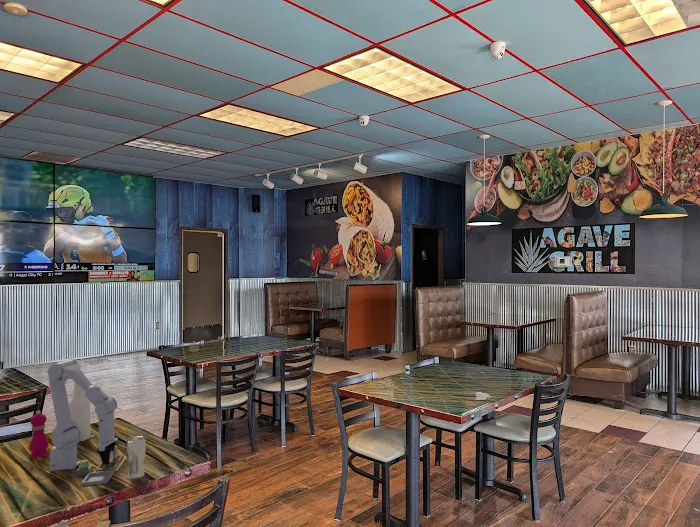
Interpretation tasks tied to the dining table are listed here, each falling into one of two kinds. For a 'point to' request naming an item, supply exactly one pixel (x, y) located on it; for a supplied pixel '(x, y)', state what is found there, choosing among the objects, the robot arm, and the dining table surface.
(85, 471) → the switch box
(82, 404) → the alcohol
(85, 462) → the button
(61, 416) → the robot arm
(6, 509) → the dining table surface
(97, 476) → the tray
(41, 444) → the pepper mill
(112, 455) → the cylinder
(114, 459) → the light brown divided box
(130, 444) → the beer glass
